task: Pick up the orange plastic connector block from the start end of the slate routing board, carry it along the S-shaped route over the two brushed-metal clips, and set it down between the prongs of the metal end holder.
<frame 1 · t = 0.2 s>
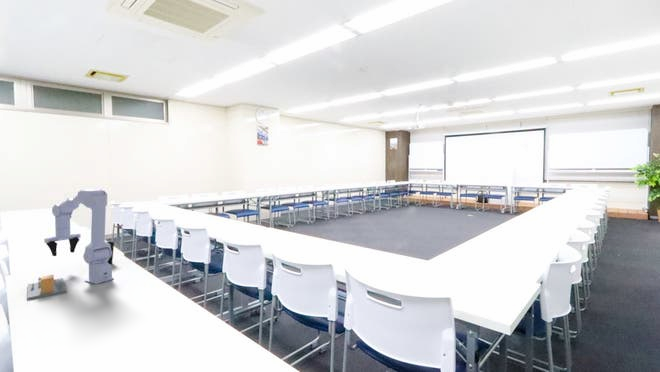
hand: (63, 254, 156), 10 cm above the table, fingers open, 7 cm apart
clips: (46, 284, 135), on the route board, point 2 cm above the table
connector: (47, 291, 130), point 1 cm above the table, touching route board
route board: (46, 289, 135), on the table
end holder: (46, 280, 139), on the route board, point 2 cm above the table
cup: (106, 264, 173), on the table
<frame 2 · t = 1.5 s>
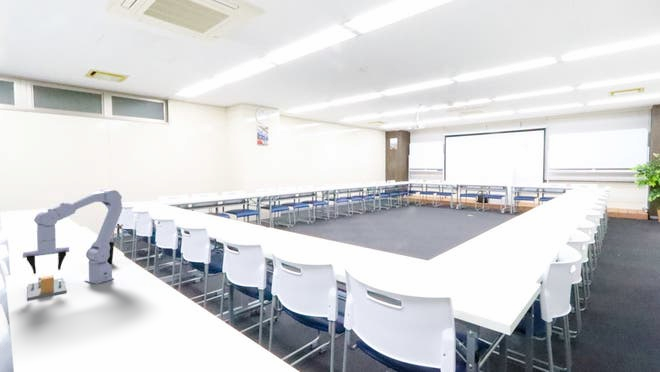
hand: (47, 271, 130), 9 cm above the table, fingers open, 7 cm apart
nothing on the table moved.
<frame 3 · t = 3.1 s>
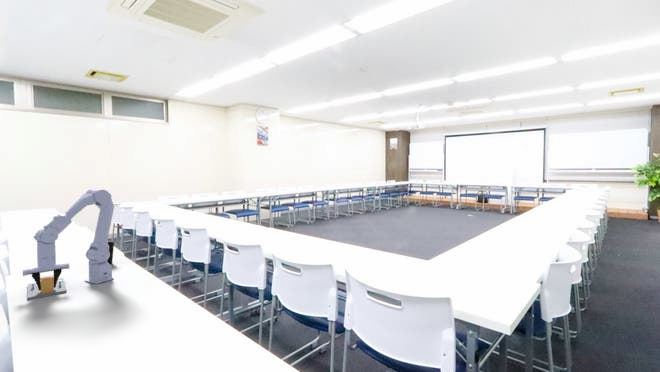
hand: (47, 288, 130), 2 cm above the table, fingers closed on connector, 4 cm apart
connector: (47, 291, 130), point 1 cm above the table, touching gripper, route board
everything else where it was.
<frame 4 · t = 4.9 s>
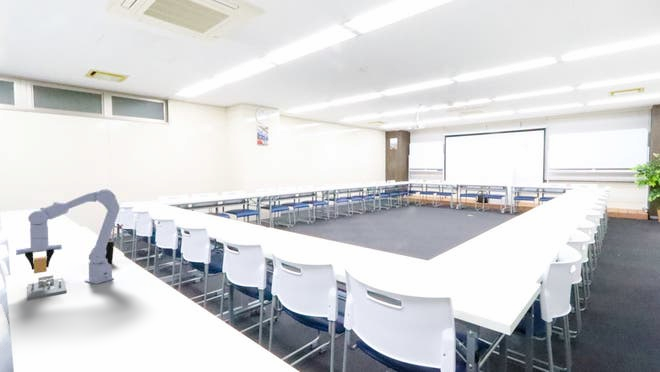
hand: (40, 267, 135), 9 cm above the table, fingers closed on connector, 4 cm apart
connector: (40, 271, 135), point 8 cm above the table, touching gripper
everything else where it was.
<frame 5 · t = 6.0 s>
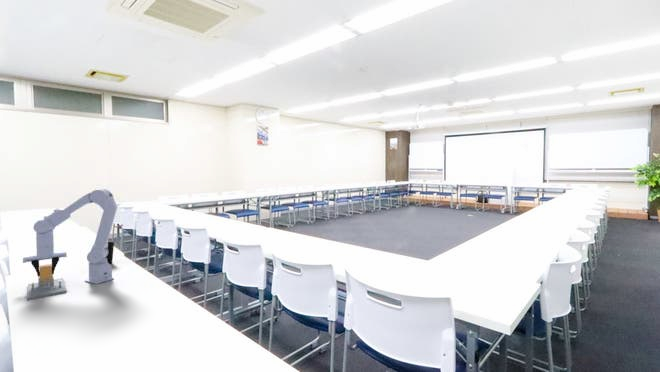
hand: (45, 275, 139), 5 cm above the table, fingers closed on connector, 4 cm apart
connector: (45, 278, 139), point 3 cm above the table, touching gripper
everything else where it was.
when the fingers open (3 cm above the table, at t = 6.8 s): connector stays where it is, resting on route board.
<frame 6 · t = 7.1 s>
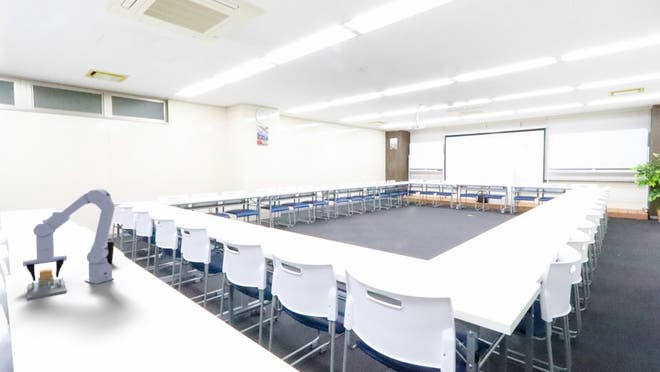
hand: (45, 278, 139), 3 cm above the table, fingers open, 7 cm apart
connector: (46, 283, 139), point 1 cm above the table, touching route board
everything else where it was.
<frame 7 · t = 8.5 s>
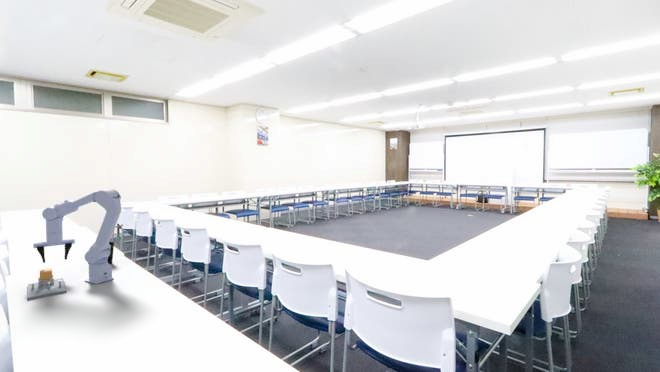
hand: (55, 260, 145), 10 cm above the table, fingers open, 7 cm apart
nothing on the table moved.
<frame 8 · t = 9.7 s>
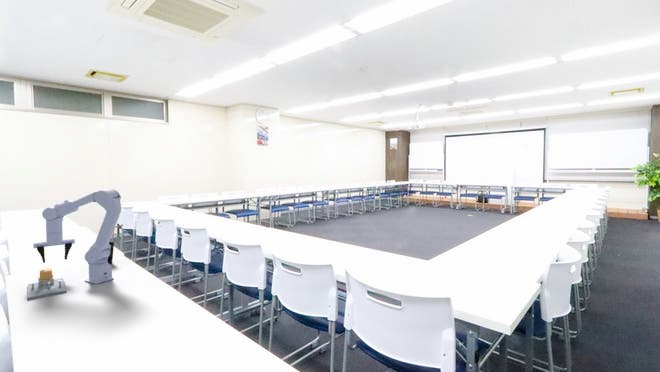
hand: (55, 260, 145), 10 cm above the table, fingers open, 7 cm apart
nothing on the table moved.
at the end: connector 0.2 cm from the target spot on the route board, point 1.0 cm above the route board's base; connector tilted 0°; the gripper is holding nothing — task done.
